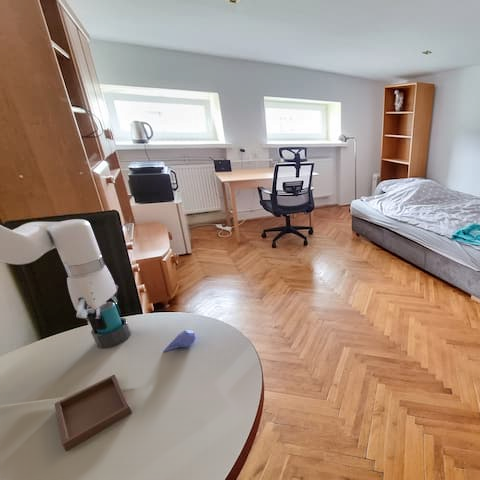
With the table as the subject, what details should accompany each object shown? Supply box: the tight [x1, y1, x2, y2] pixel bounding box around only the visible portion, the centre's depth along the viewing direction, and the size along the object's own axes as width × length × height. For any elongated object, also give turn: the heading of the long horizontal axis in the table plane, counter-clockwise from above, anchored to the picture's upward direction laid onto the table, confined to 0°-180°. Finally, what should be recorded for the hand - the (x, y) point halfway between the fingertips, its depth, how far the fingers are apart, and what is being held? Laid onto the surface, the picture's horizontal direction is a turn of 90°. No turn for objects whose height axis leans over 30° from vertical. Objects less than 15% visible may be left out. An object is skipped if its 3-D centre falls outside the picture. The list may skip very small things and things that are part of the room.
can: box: [91, 302, 122, 334], centre depth 83 cm, size 6×6×11 cm
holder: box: [90, 317, 132, 349], centre depth 84 cm, size 8×8×5 cm
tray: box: [54, 374, 133, 452], centre depth 63 cm, size 14×11×2 cm
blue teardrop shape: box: [162, 329, 197, 353], centre depth 82 cm, size 8×6×6 cm
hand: (107, 321), depth 82 cm, fingers closed on can, 5 cm apart
